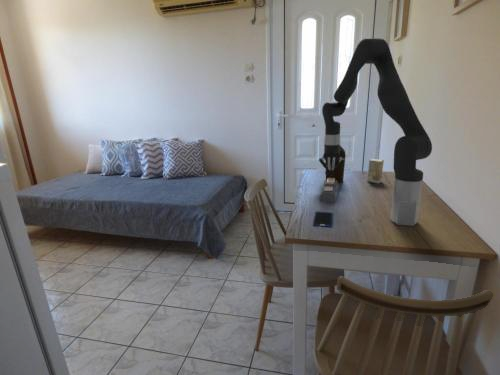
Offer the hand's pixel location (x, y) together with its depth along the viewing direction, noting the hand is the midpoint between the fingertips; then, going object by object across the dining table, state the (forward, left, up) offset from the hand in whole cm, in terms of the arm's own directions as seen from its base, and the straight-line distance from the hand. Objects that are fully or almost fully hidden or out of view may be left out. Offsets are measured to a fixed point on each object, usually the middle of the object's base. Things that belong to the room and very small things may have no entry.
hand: (331, 176), depth 155 cm
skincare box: (+16, -22, -7) cm, 28 cm away
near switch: (-14, 0, -2) cm, 14 cm away
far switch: (-2, 0, -2) cm, 3 cm away
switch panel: (-8, 0, -7) cm, 10 cm away
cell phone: (-39, 0, -7) cm, 40 cm away
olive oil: (+13, -1, -7) cm, 15 cm away
